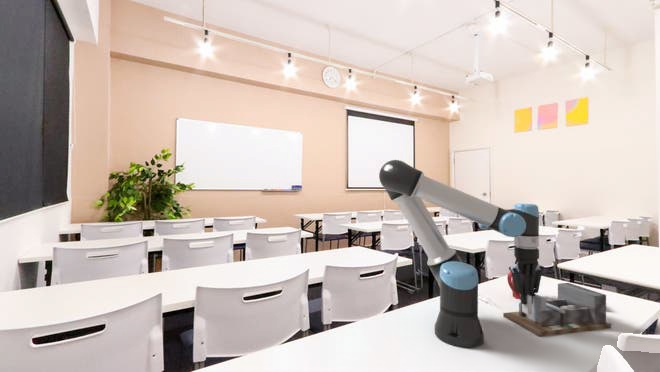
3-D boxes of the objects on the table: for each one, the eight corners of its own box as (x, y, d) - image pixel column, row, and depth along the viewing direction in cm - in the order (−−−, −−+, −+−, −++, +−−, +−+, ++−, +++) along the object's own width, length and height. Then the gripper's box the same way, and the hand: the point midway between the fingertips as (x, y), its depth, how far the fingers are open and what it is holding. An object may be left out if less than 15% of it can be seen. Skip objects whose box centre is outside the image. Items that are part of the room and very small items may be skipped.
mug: (520, 293, 145) (520, 264, 145) (539, 299, 136) (539, 269, 136) (499, 296, 141) (499, 266, 141) (516, 303, 133) (517, 271, 133)
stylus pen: (475, 298, 138) (475, 294, 138) (480, 297, 139) (480, 293, 139) (502, 313, 124) (503, 308, 124) (508, 312, 125) (508, 308, 125)
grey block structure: (539, 336, 103) (539, 302, 103) (503, 316, 119) (503, 286, 119) (611, 328, 109) (611, 295, 109) (567, 310, 125) (567, 281, 125)
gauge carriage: (551, 329, 105) (551, 302, 105) (525, 316, 115) (525, 292, 115) (571, 327, 107) (571, 300, 107) (544, 314, 117) (544, 290, 117)
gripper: (519, 250, 106) (519, 319, 106) (551, 248, 109) (551, 315, 109) (502, 245, 114) (503, 310, 114) (533, 244, 116) (533, 307, 116)
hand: (526, 312), depth 111 cm, fingers closed
